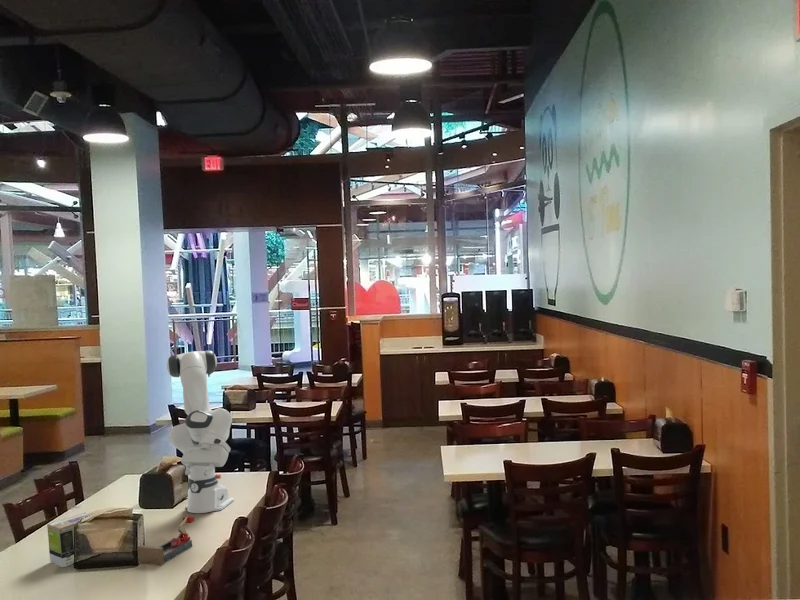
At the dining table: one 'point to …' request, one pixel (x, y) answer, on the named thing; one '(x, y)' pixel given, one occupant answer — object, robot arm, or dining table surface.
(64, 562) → the tea box
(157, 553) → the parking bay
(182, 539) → the red beige jointed figure
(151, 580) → the dining table surface
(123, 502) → the dining table surface
